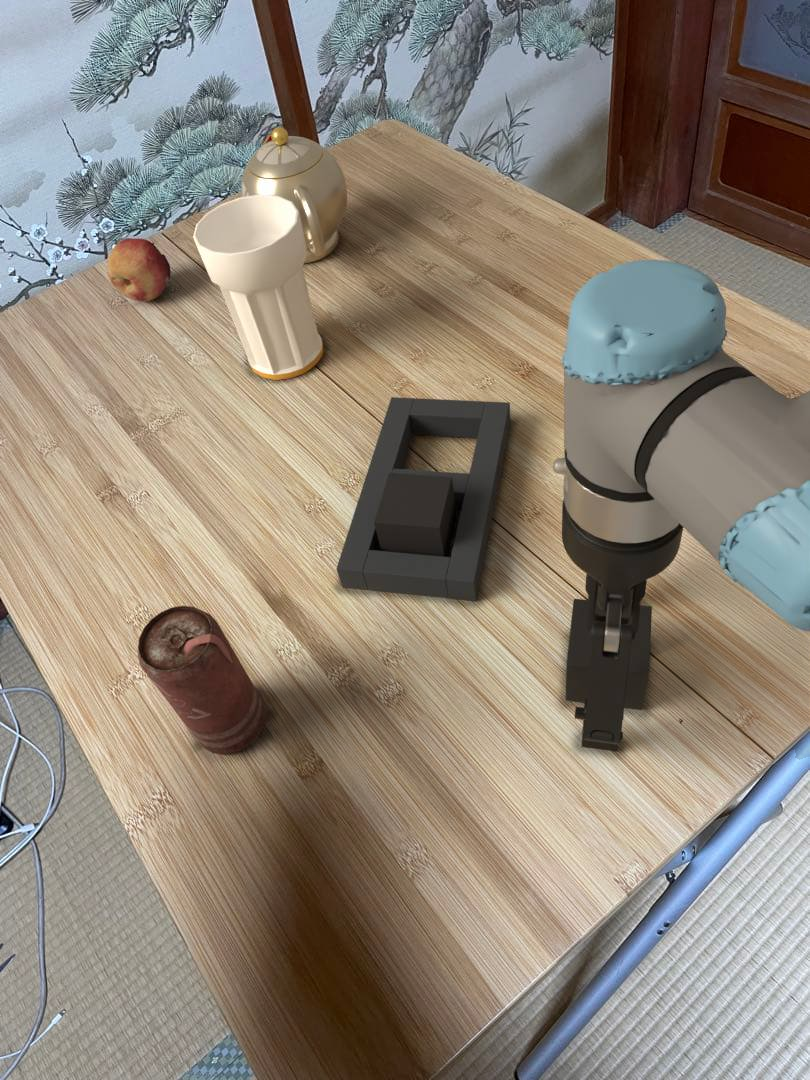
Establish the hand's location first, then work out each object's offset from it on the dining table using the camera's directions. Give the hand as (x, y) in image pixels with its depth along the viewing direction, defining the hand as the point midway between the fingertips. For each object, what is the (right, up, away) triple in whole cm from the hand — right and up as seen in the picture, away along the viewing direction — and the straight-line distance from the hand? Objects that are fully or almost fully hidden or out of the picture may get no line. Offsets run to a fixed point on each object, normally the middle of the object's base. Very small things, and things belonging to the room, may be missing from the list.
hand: (605, 671), depth 68 cm
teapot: (-29, +50, +45) cm, 73 cm away
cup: (-31, +33, +32) cm, 55 cm away
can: (-31, -5, +2) cm, 31 cm away
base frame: (-14, +15, +14) cm, 25 cm away
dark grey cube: (-15, +11, +11) cm, 22 cm away
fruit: (-51, +43, +44) cm, 80 cm away
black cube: (0, 0, 0) cm, 0 cm away
